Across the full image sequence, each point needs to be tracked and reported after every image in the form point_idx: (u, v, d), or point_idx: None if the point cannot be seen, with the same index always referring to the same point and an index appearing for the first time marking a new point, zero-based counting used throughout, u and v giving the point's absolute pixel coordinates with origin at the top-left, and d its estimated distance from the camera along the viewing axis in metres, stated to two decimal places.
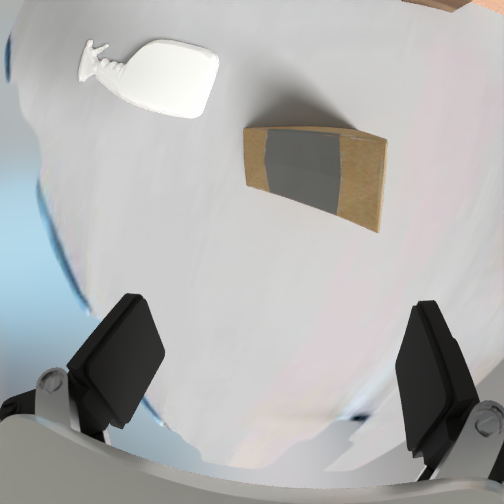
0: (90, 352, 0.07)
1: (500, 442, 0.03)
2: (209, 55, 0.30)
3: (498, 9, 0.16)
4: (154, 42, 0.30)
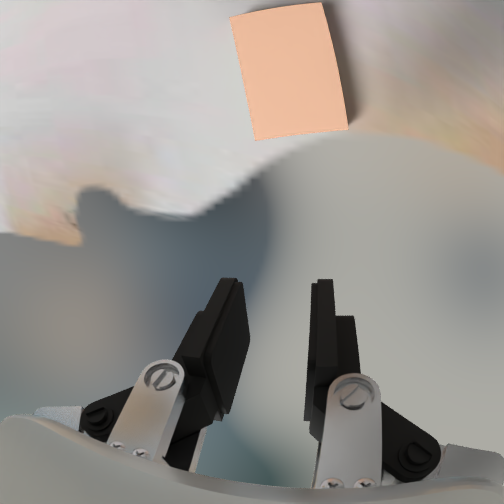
0: (208, 338, 0.07)
1: (379, 406, 0.05)
2: None
3: None
4: None
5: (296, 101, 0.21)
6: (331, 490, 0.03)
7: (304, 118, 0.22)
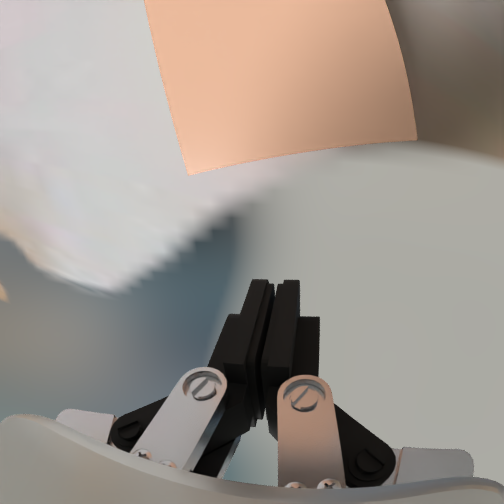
0: (249, 343, 0.07)
1: (332, 406, 0.05)
2: None
3: None
4: None
5: (283, 67, 0.08)
6: (331, 490, 0.03)
7: (306, 110, 0.08)
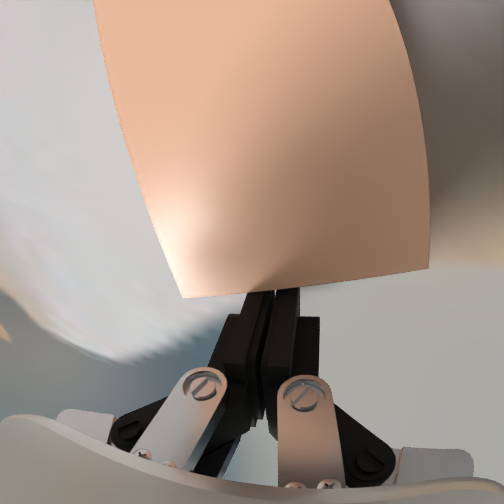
0: (249, 343, 0.07)
1: (332, 406, 0.05)
2: None
3: None
4: None
5: (284, 193, 0.07)
6: (331, 490, 0.03)
7: (309, 244, 0.08)
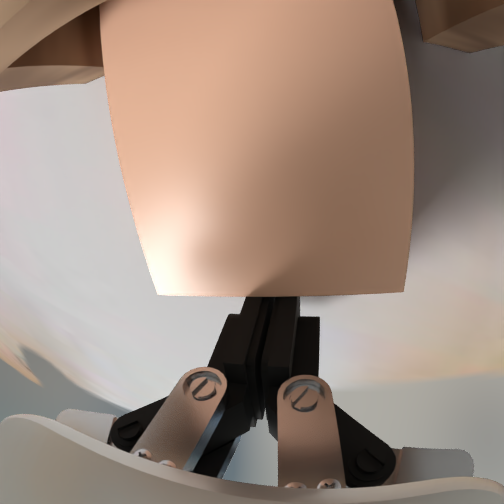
0: (249, 343, 0.07)
1: (332, 406, 0.05)
2: None
3: None
4: None
5: (264, 204, 0.07)
6: (331, 490, 0.03)
7: (285, 256, 0.08)
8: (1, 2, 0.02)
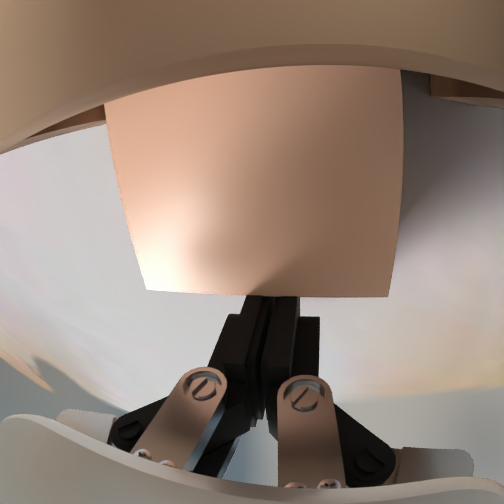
0: (249, 343, 0.07)
1: (332, 406, 0.05)
2: None
3: None
4: None
5: (251, 206, 0.08)
6: (331, 490, 0.03)
7: (270, 257, 0.08)
8: (10, 92, 0.03)
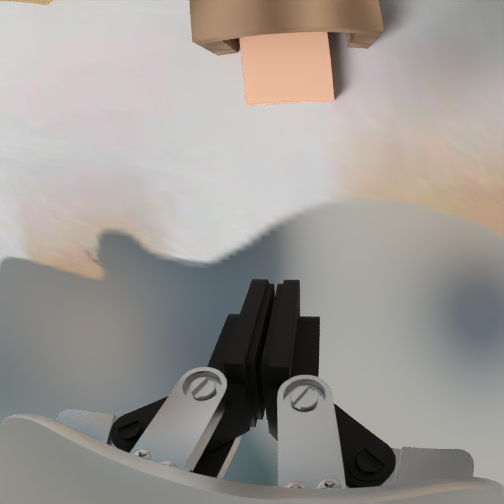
0: (249, 343, 0.07)
1: (332, 406, 0.05)
2: None
3: None
4: None
5: (287, 72, 0.22)
6: (331, 490, 0.03)
7: (293, 87, 0.23)
8: (238, 24, 0.17)
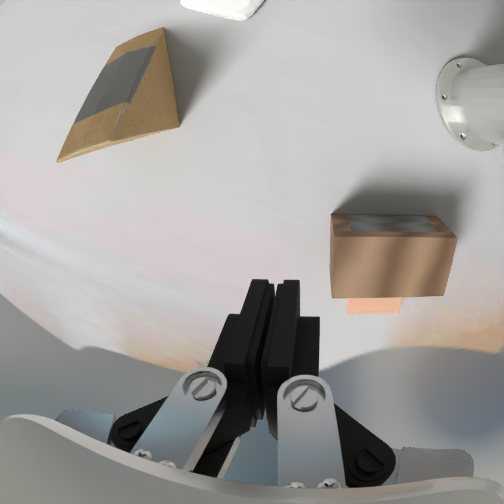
0: (249, 343, 0.07)
1: (332, 406, 0.05)
2: (243, 11, 0.24)
3: None
4: None
5: None
6: (331, 490, 0.03)
7: (378, 305, 0.38)
8: (363, 292, 0.32)
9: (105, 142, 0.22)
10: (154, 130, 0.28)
